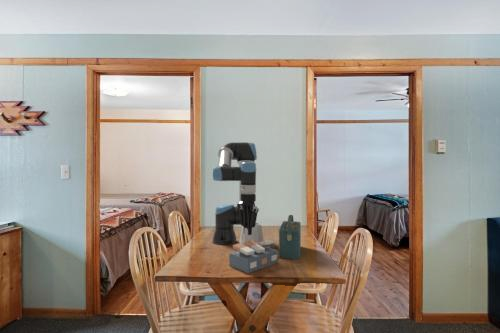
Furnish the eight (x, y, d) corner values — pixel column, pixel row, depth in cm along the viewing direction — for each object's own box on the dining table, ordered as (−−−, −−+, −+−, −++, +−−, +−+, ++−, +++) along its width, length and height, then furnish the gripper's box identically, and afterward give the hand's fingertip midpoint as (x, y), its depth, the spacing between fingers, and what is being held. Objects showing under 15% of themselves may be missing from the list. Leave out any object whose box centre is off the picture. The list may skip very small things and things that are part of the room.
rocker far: (253, 248, 137) (252, 243, 137) (260, 246, 140) (259, 242, 141) (267, 246, 130) (266, 241, 130) (274, 244, 133) (273, 239, 134)
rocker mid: (243, 245, 132) (243, 241, 132) (250, 243, 136) (251, 239, 135) (257, 255, 125) (258, 250, 125) (264, 252, 129) (265, 248, 128)
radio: (300, 259, 137) (300, 220, 137) (278, 258, 139) (278, 219, 139) (300, 246, 162) (300, 212, 162) (282, 245, 164) (282, 212, 164)
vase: (266, 254, 146) (266, 226, 146) (240, 255, 143) (240, 227, 144) (261, 247, 159) (261, 221, 160) (237, 248, 157) (237, 222, 157)
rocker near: (232, 249, 127) (232, 245, 127) (240, 247, 131) (240, 243, 131) (246, 257, 120) (246, 252, 120) (254, 255, 124) (255, 250, 123)
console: (228, 265, 127) (228, 249, 128) (259, 256, 142) (259, 241, 142) (248, 273, 118) (248, 255, 118) (278, 262, 132) (278, 246, 133)
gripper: (233, 192, 136) (233, 239, 136) (252, 194, 126) (251, 245, 126) (244, 192, 141) (244, 237, 141) (263, 193, 131) (262, 242, 131)
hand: (247, 241), depth 133 cm, fingers closed
